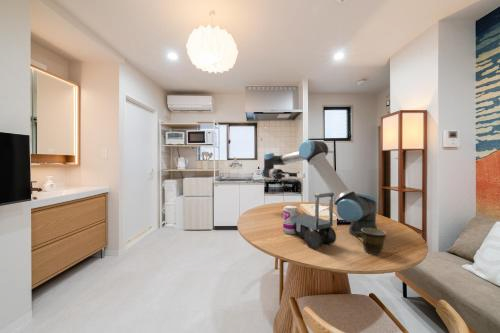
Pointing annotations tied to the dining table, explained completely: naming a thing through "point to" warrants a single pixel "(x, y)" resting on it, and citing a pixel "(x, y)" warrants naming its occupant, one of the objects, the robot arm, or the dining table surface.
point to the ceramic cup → (372, 240)
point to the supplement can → (287, 224)
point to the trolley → (316, 225)
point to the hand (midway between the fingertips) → (296, 176)
